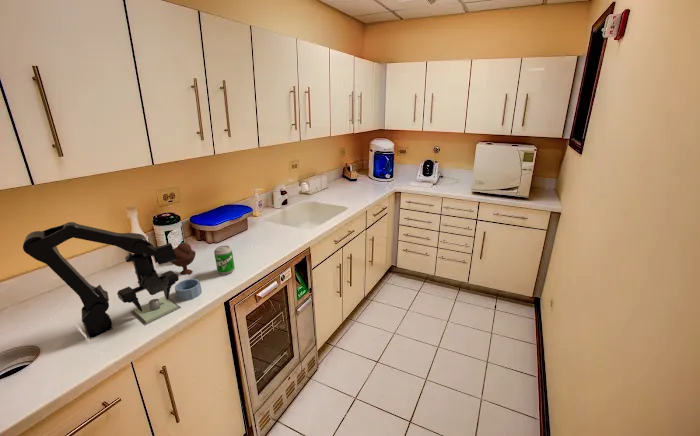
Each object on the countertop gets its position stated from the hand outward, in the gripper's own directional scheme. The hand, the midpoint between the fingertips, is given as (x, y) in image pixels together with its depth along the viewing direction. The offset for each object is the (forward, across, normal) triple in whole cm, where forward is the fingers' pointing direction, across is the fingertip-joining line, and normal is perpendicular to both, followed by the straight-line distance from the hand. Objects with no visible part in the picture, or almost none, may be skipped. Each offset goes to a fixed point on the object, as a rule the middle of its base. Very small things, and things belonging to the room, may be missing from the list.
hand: (154, 305), depth 121 cm
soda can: (+3, +33, +5) cm, 34 cm away
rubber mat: (+3, 0, 0) cm, 3 cm away
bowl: (+3, +13, 0) cm, 13 cm away
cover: (+2, 0, 0) cm, 2 cm away
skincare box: (+3, +27, +33) cm, 43 cm away
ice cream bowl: (+3, +21, +19) cm, 28 cm away
